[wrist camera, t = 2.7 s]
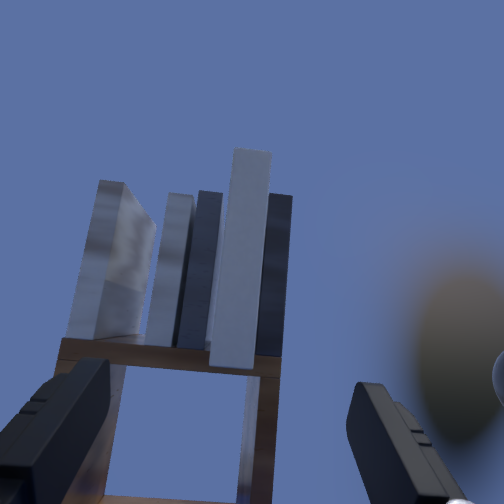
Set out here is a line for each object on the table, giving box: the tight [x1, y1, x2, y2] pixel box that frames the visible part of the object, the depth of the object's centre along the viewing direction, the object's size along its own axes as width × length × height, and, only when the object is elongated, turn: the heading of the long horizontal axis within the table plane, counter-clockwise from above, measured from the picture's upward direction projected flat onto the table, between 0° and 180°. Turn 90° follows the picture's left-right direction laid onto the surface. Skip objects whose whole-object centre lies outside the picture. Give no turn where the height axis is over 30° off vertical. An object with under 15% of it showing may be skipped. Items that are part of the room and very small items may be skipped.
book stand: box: [53, 180, 293, 504], centre depth 27 cm, size 12×16×43 cm
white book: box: [209, 147, 272, 370], centre depth 26 cm, size 20×2×12 cm, turn 4°
